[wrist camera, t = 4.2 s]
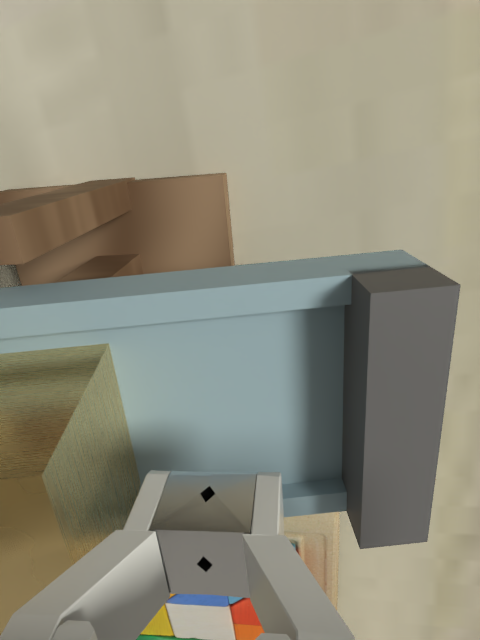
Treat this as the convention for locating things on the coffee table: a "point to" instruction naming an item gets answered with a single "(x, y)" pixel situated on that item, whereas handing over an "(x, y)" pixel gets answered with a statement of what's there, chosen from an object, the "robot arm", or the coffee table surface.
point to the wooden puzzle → (238, 613)
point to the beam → (274, 374)
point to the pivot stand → (116, 228)
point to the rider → (59, 465)
